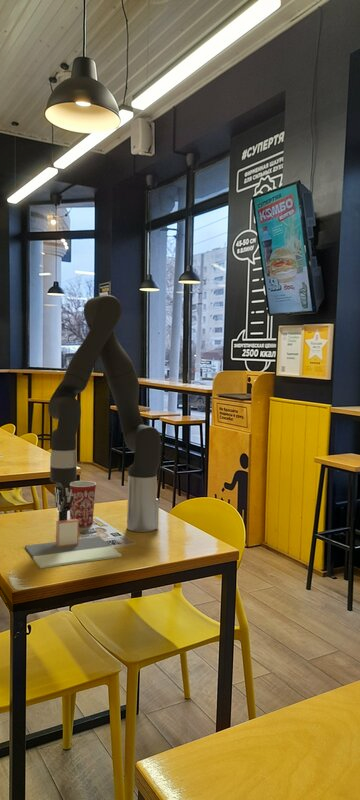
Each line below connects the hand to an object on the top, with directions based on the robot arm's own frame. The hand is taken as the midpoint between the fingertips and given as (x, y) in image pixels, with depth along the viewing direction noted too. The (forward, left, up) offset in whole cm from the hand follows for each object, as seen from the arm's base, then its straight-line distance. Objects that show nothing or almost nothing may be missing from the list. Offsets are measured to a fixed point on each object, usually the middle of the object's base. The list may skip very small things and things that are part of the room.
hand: (62, 523), depth 163 cm
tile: (0, +5, -1) cm, 5 cm away
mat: (0, +10, -6) cm, 11 cm away
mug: (-11, -18, -6) cm, 22 cm away
